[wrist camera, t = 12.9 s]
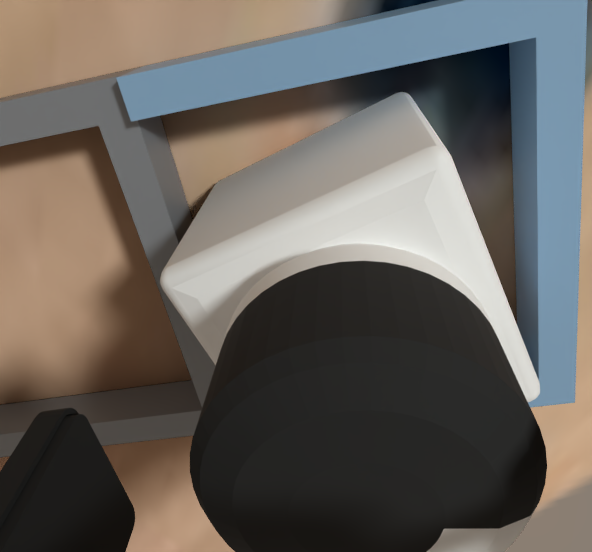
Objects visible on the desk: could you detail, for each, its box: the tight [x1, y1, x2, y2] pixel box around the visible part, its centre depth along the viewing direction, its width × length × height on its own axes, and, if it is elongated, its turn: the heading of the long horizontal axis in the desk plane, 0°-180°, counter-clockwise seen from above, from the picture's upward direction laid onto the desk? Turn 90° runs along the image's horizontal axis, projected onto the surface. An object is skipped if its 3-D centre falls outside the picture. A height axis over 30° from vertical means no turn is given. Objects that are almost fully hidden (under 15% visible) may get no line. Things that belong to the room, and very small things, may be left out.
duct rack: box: [0, 0, 587, 457], centre depth 19 cm, size 13×26×2 cm, turn 102°
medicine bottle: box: [160, 92, 547, 552], centre depth 14 cm, size 7×7×12 cm
